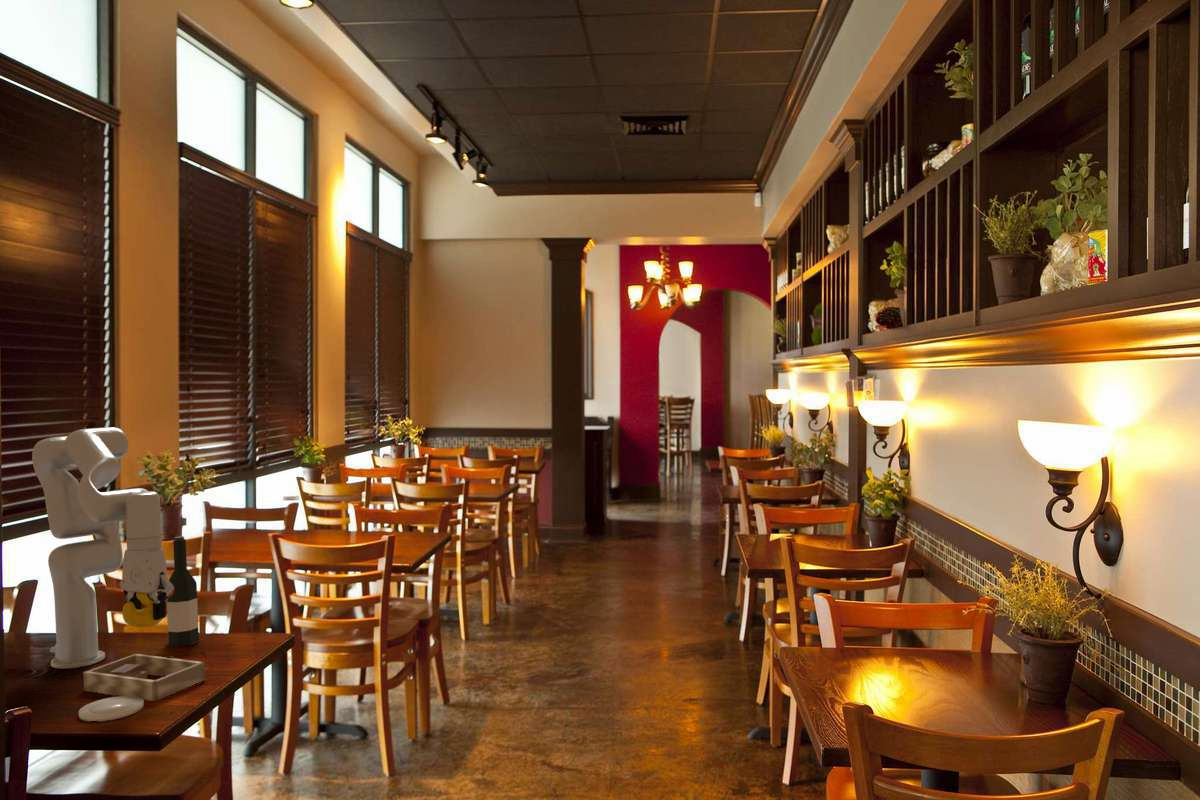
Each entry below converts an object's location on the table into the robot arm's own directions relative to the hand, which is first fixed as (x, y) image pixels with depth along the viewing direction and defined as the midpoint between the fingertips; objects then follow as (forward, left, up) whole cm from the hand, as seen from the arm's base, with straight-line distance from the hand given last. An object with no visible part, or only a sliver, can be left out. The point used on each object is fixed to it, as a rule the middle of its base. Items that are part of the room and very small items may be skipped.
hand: (147, 617), depth 220 cm
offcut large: (-11, +2, -18) cm, 21 cm away
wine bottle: (-23, +32, -18) cm, 44 cm away
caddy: (-3, +2, -18) cm, 18 cm away
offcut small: (-10, +2, -16) cm, 19 cm away
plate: (+3, -13, -18) cm, 22 cm away
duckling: (0, 0, -2) cm, 2 cm away
